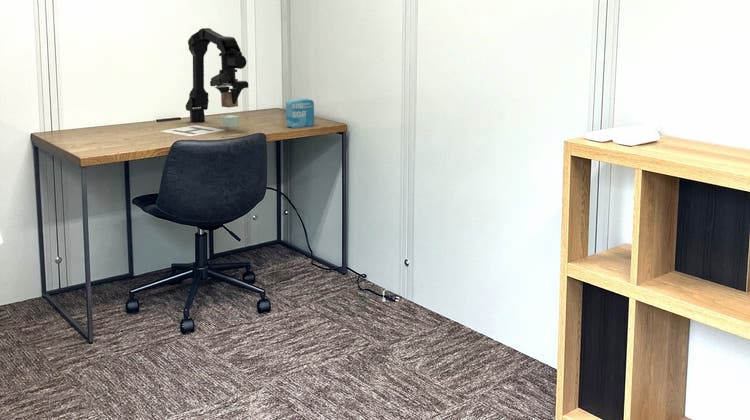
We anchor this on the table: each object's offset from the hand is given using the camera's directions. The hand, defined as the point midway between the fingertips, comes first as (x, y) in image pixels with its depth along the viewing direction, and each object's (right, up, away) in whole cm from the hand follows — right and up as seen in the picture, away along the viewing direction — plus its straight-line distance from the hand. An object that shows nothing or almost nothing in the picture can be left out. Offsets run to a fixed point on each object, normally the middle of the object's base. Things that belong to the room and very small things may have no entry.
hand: (229, 103), depth 396 cm
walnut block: (0, -1, 0) cm, 1 cm away
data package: (+29, -8, +18) cm, 35 cm away
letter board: (-16, -12, +1) cm, 20 cm away
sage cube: (-2, -10, +12) cm, 15 cm away
